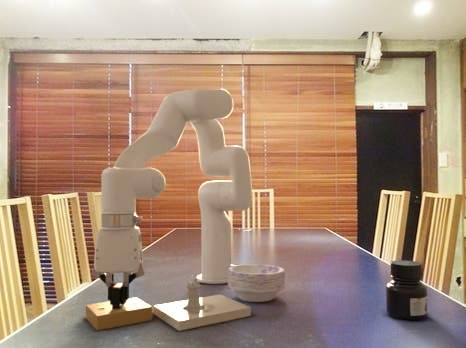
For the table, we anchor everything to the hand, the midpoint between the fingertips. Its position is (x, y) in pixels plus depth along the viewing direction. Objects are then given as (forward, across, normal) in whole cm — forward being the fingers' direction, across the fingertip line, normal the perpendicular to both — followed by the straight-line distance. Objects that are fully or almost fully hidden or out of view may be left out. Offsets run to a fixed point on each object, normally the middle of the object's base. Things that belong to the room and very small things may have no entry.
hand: (118, 302), depth 97 cm
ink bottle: (+4, -66, +2) cm, 66 cm away
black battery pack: (+1, 0, 0) cm, 1 cm away
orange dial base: (+4, 0, 0) cm, 4 cm away
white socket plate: (+4, -19, -2) cm, 19 cm away
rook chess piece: (+4, -17, 0) cm, 17 cm away
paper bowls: (+4, -33, -15) cm, 36 cm away
